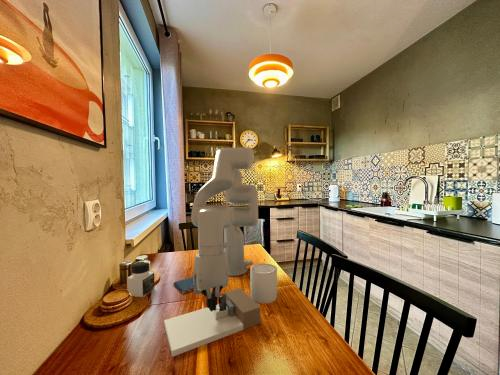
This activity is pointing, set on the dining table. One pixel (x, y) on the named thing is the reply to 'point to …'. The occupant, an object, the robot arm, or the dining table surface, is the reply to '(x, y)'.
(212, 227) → the robot arm
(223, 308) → the bolt
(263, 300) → the mug
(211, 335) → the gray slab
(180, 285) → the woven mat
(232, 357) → the dining table surface
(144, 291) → the medicine bottle
